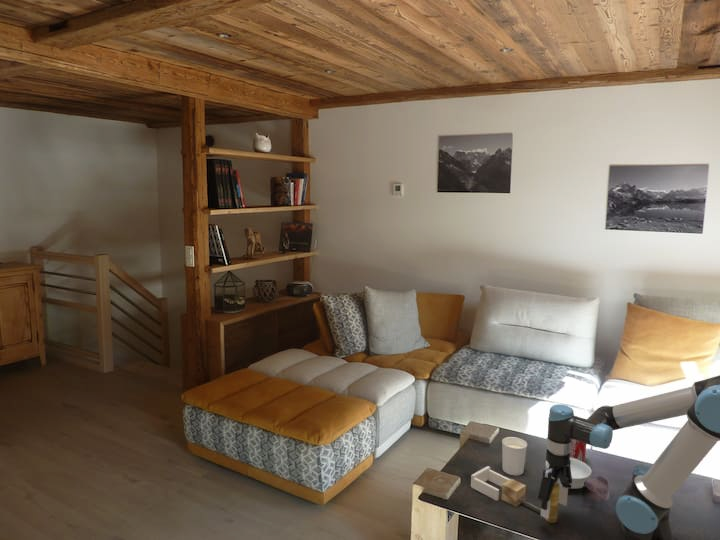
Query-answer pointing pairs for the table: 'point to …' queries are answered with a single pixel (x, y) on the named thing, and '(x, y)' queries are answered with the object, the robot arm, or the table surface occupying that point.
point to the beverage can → (578, 450)
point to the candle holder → (513, 455)
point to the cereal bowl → (576, 473)
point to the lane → (481, 486)
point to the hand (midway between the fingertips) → (553, 510)
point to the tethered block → (516, 495)
